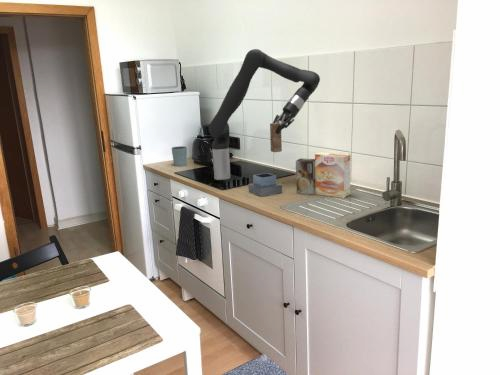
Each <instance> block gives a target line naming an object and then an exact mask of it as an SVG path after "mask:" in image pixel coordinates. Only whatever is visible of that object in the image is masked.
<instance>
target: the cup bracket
mask: <svg viewBox="0 0 500 375" xmlns="http://www.w3.org/2000/svg"><path fill="white" fill-rule="evenodd" d="M252 177H253V178H252V180H253V182H252V183H248V185H247V186H248V193H251V194H253V195H256V196H257V197H259V198H262V197H269V196H272V195H273V196H274V195H277V194H282V193H283V185H282V184H280V183H277V175H275V174H272V173H269V172H264V173H258V174H253V175H252Z"/></svg>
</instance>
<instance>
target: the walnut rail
mask: <svg viewBox="0 0 500 375" xmlns="http://www.w3.org/2000/svg"><path fill="white" fill-rule="evenodd" d="M280 124H281V122H280V123H273V122H272V123H269V130H270V131H269V134H270V136H269V137H270V142H269V143H270V152H273V153H279V152H282V150H283V148H282V147H283V146H282V131H281V132H280V133H279V134H276V133H275V131H276V130H277V128H278V127H279V126H280Z"/></svg>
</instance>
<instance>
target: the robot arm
mask: <svg viewBox="0 0 500 375" xmlns="http://www.w3.org/2000/svg"><path fill="white" fill-rule="evenodd" d="M245 54H246V55H245V57H244V59H243V61H242V64H241V67H240V69H239V71H238V73H237V75H236V76H235V78H234V80H233V82H232V83H231V85H230V87H229V88H228V90H227V92H226V94H225V96H224V98H223V100H222V103H221V104H220V107H219V109H218V111H217V112H216V114H215V116H214V117H213V119H212V120H211V121H210V123H209V124H208V132H209V134H210V135H211V137H213V142H212V144H211V150H212V163H213V175H214V176H213V178H214V180H216V181H223V180H229V179H231V165H230V164H231V161H230V148H229V145H230V142H231V141H230V137H231V136H230V126H229V123H228V122H229V121H230V119H231V117H232V116H233V114H234V113H235V112H236V111H237V109H238V108H239V107H240V106H241V105H242V103H243V101H244V99H245V97H246V95H247V93H248V90H249V87H250V84H251V82H252V79H253V76H255V74H256V72H257V71H258V69H259V68H261V69H265V70H268V71H271V72H273V73H275V74H277V75H278V76H280V77H282V78H284V79H286V80H288V81H291V82H293V83H299V82H301V83H303V84H302V85H301V86H300V87H298V88H297V90H296V91H295V93H293V95H292V96H291V97H290V98H289V100H288V101H287V102H286V104H285V105H284V106H283V107H282V112H281V114H279V115H278V114H276V115H275V117H274V120H273V122H272V123H281V124H280V126H279V127H278V128H277V130H276V131H275V133H276V134H279V133H280V132H281V133H282V130H284V129H287V128H288V127H289V126H290V125H291V124H292V123H294V121H295V118H296V117H297V115H298V114H299V112H300V111H301V110H302V108H303V107H304V105H305V103H306V102H307V101H308V100H309V98H310V96H311V95H312V94H313V93H314V92H315V91H316V89H317V88H318V86H319V84H320V81H321V76H320V75H319V74H318V73H317V72H315V71H312V70H309V69H301V68H298V67H296V66H293V65H291V64H289V63H286V62H284V61H280V60H279V59H276V58H274V57H272V56H270V55H268V54H266V52H263V51H262V50H261V49H258V48H254V49H251V50H249V51H248V52H247V53H245Z"/></svg>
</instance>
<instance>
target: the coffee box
mask: <svg viewBox="0 0 500 375" xmlns="http://www.w3.org/2000/svg"><path fill="white" fill-rule="evenodd" d="M295 177H296V178H295V180H296V183H295V184H296V185H295V186H296V194H301V195H316V194H315V158H299V159H297V160H295Z"/></svg>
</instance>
